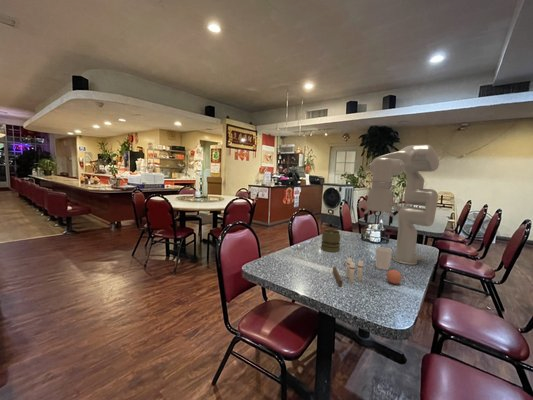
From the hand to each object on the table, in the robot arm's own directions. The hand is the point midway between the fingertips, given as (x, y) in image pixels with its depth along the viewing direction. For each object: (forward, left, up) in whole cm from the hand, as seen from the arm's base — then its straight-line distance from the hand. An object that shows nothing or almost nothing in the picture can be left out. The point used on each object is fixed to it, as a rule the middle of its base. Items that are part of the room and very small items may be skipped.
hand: (377, 223), depth 109 cm
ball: (-8, +2, -24) cm, 25 cm away
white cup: (-10, -17, -27) cm, 33 cm away
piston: (+13, -43, -27) cm, 52 cm away
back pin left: (+11, +4, -27) cm, 29 cm away
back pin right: (+11, -1, -27) cm, 29 cm away
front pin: (+7, +2, -27) cm, 27 cm away
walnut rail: (+17, +2, -27) cm, 31 cm away
